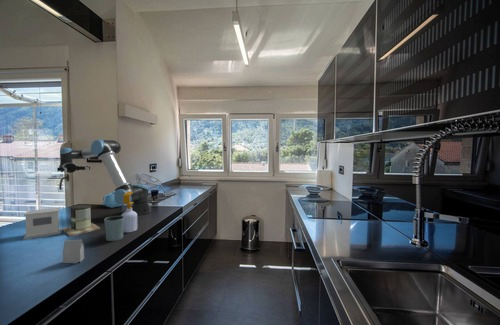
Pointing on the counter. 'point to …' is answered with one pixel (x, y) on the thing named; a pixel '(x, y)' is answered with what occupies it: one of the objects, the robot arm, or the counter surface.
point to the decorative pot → (110, 200)
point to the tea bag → (73, 251)
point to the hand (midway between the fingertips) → (77, 169)
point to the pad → (71, 233)
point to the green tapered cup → (114, 228)
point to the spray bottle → (129, 215)
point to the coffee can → (80, 217)
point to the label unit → (42, 223)
